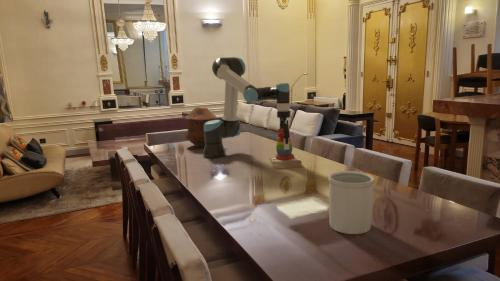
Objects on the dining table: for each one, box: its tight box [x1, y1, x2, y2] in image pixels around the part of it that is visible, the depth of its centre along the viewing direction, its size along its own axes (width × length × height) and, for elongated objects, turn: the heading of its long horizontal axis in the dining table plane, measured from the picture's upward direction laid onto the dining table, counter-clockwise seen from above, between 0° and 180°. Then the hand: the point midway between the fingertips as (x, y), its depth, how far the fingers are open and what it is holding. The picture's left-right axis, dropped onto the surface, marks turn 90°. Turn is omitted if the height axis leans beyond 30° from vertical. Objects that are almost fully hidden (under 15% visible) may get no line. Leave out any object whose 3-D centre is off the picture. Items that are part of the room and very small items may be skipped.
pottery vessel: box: [184, 106, 217, 148], centre depth 276 cm, size 26×26×30 cm
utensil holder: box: [327, 170, 375, 235], centre depth 122 cm, size 15×15×18 cm
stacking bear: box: [275, 128, 295, 160], centre depth 209 cm, size 11×10×18 cm
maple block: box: [269, 154, 302, 169], centre depth 211 cm, size 16×16×4 cm
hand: (284, 147), depth 209 cm, fingers open, 13 cm apart
